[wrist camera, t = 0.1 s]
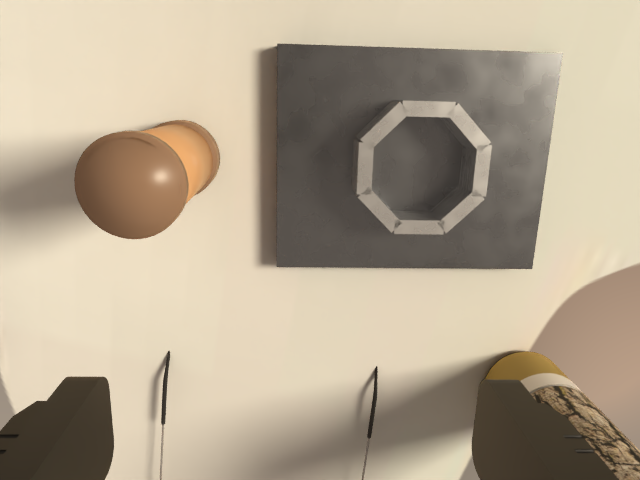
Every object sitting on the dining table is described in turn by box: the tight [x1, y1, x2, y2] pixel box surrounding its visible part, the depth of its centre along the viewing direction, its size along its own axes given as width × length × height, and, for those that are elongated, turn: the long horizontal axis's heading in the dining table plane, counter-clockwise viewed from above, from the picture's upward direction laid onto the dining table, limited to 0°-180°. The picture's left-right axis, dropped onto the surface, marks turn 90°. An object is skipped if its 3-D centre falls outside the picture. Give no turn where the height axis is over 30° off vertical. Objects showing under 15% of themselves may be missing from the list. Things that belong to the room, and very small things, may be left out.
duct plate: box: [277, 44, 563, 269], centre depth 37 cm, size 16×20×4 cm
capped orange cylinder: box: [75, 120, 220, 239], centre depth 32 cm, size 5×5×13 cm
